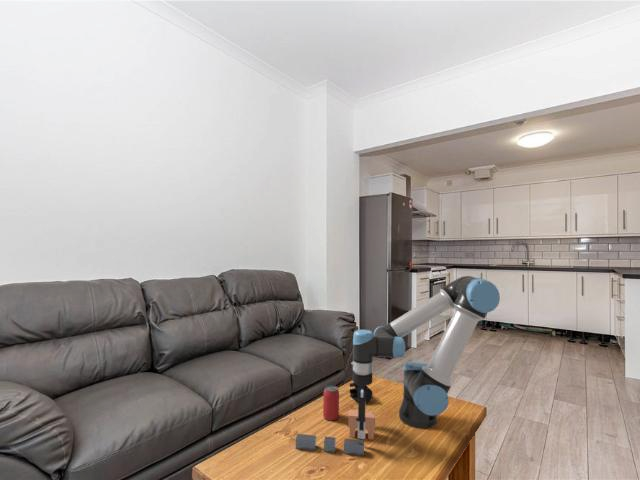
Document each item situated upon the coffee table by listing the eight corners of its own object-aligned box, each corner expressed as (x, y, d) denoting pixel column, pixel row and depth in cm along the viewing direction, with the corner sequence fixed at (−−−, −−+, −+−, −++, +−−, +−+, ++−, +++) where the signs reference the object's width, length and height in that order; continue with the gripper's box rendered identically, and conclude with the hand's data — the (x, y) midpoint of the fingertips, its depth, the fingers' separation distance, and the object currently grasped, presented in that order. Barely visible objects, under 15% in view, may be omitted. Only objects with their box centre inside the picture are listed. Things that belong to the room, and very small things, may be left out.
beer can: (337, 422, 134) (338, 392, 134) (321, 420, 135) (322, 390, 135) (339, 414, 140) (340, 385, 141) (324, 412, 142) (325, 384, 142)
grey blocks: (364, 450, 116) (364, 440, 116) (363, 455, 113) (364, 445, 113) (297, 443, 119) (297, 433, 119) (295, 448, 116) (295, 438, 116)
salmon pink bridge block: (374, 432, 127) (375, 412, 127) (375, 439, 122) (375, 417, 122) (348, 430, 128) (349, 409, 128) (348, 436, 124) (348, 415, 124)
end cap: (372, 402, 152) (372, 387, 152) (359, 404, 149) (359, 389, 149) (362, 393, 161) (362, 379, 161) (349, 395, 158) (349, 381, 158)
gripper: (354, 359, 138) (353, 410, 138) (351, 384, 114) (350, 446, 113) (371, 361, 137) (371, 412, 137) (372, 386, 113) (372, 448, 112)
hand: (361, 427), depth 125 cm, fingers open, 13 cm apart
